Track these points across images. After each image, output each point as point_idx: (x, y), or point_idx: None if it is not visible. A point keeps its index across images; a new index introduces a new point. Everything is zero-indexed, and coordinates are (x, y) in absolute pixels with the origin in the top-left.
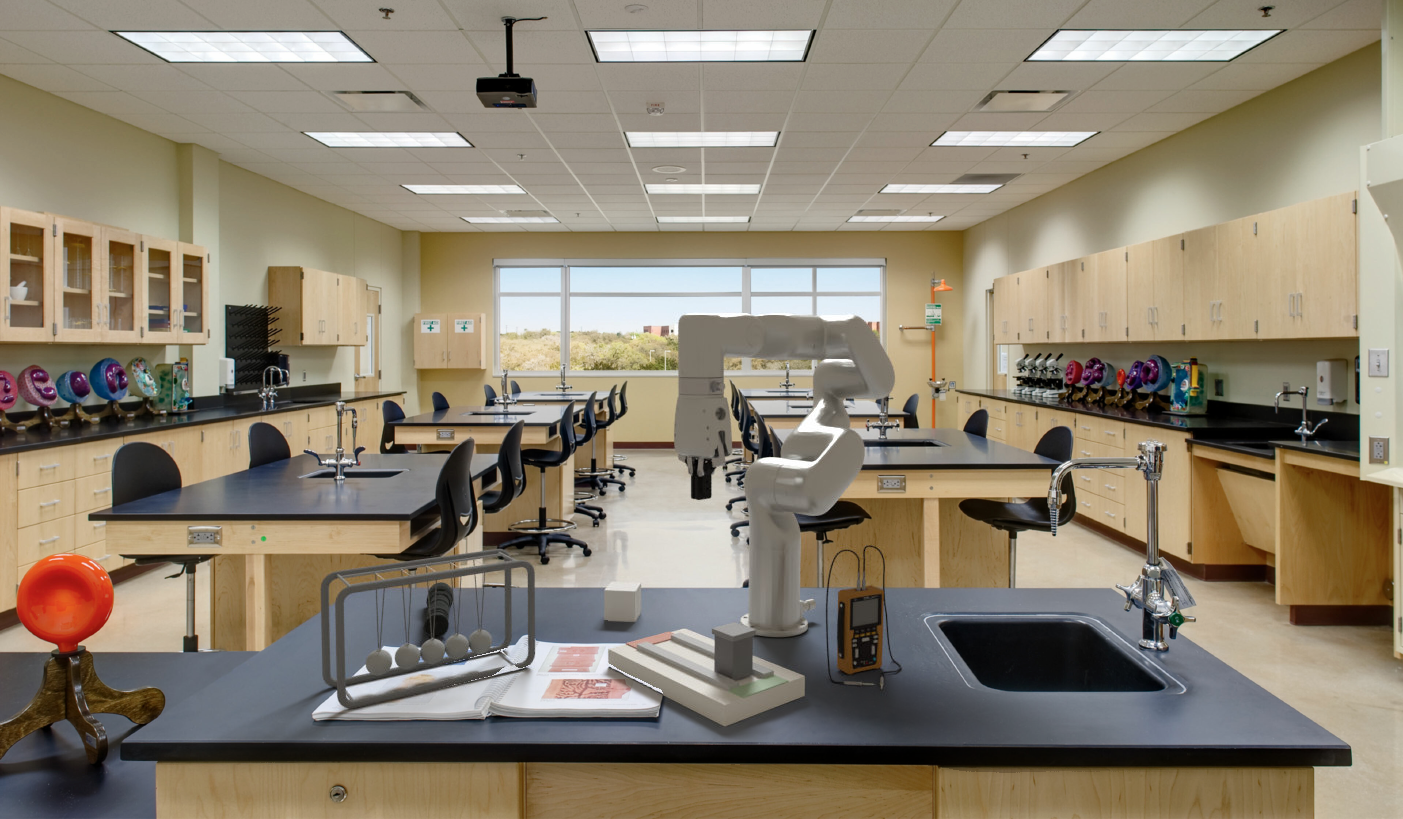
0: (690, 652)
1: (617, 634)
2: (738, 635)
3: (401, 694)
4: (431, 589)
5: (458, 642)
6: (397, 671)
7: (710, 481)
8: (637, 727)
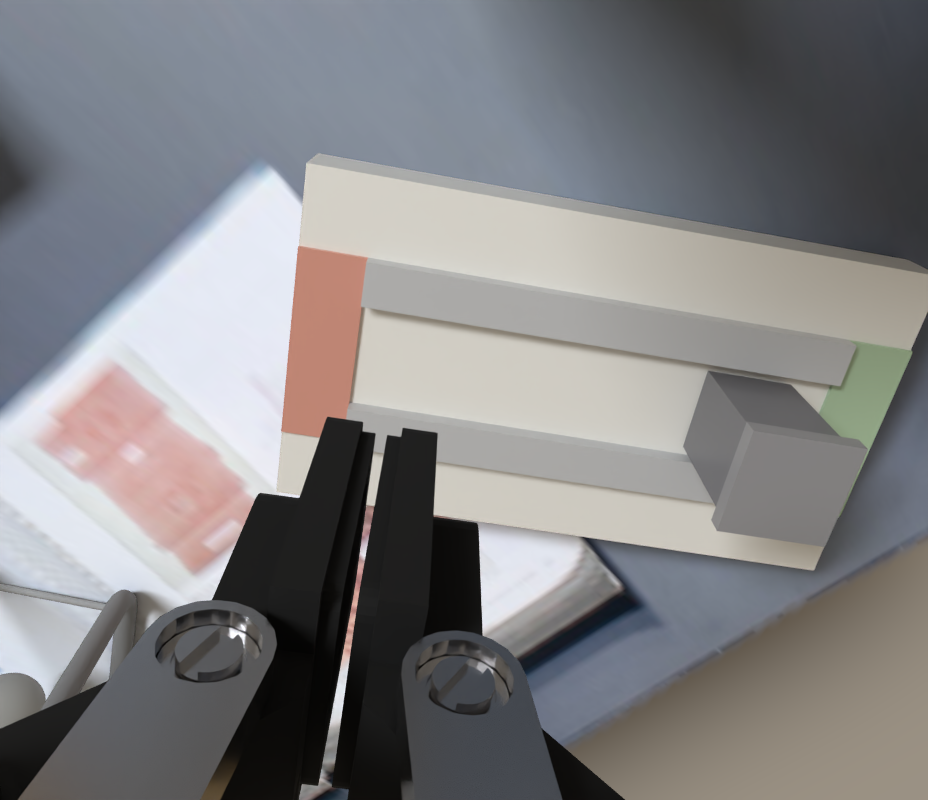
0: (504, 352)
1: (45, 232)
2: (834, 524)
3: None
4: None
5: None
6: None
7: (481, 615)
8: (620, 646)
